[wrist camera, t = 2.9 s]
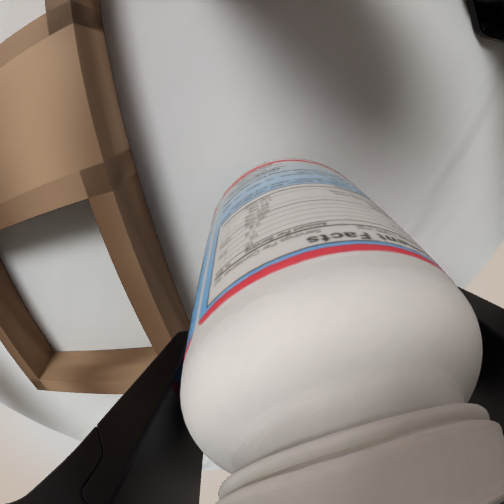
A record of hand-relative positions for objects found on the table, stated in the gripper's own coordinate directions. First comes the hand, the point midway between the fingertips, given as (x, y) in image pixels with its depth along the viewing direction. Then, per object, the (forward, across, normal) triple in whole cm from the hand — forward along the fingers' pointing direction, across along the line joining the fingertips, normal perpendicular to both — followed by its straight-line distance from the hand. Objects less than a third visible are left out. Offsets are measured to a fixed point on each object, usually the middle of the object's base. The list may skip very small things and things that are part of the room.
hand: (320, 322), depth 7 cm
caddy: (+6, +11, -7) cm, 14 cm away
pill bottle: (+6, 0, 0) cm, 6 cm away
